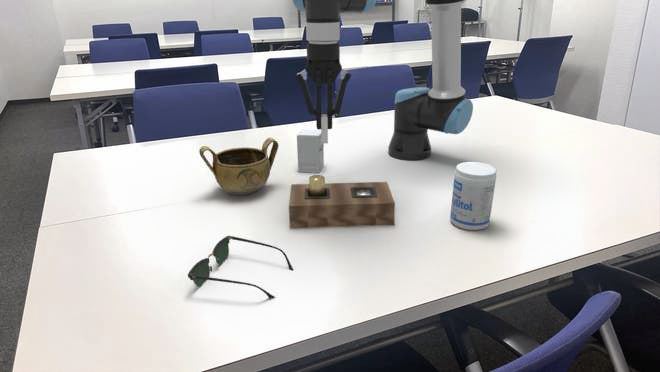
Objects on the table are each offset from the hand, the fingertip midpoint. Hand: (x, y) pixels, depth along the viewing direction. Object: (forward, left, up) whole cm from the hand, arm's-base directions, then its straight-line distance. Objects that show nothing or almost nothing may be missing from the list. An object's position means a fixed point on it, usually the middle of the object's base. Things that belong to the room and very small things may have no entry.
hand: (324, 141), depth 116 cm
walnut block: (-4, 0, -20) cm, 20 cm away
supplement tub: (-36, +7, -20) cm, 42 cm away
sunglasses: (+17, +28, -21) cm, 39 cm away
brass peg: (+2, 0, -15) cm, 15 cm away
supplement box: (+4, -35, -20) cm, 41 cm away
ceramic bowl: (+24, -18, -20) cm, 36 cm away
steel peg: (-10, 0, -20) cm, 22 cm away
